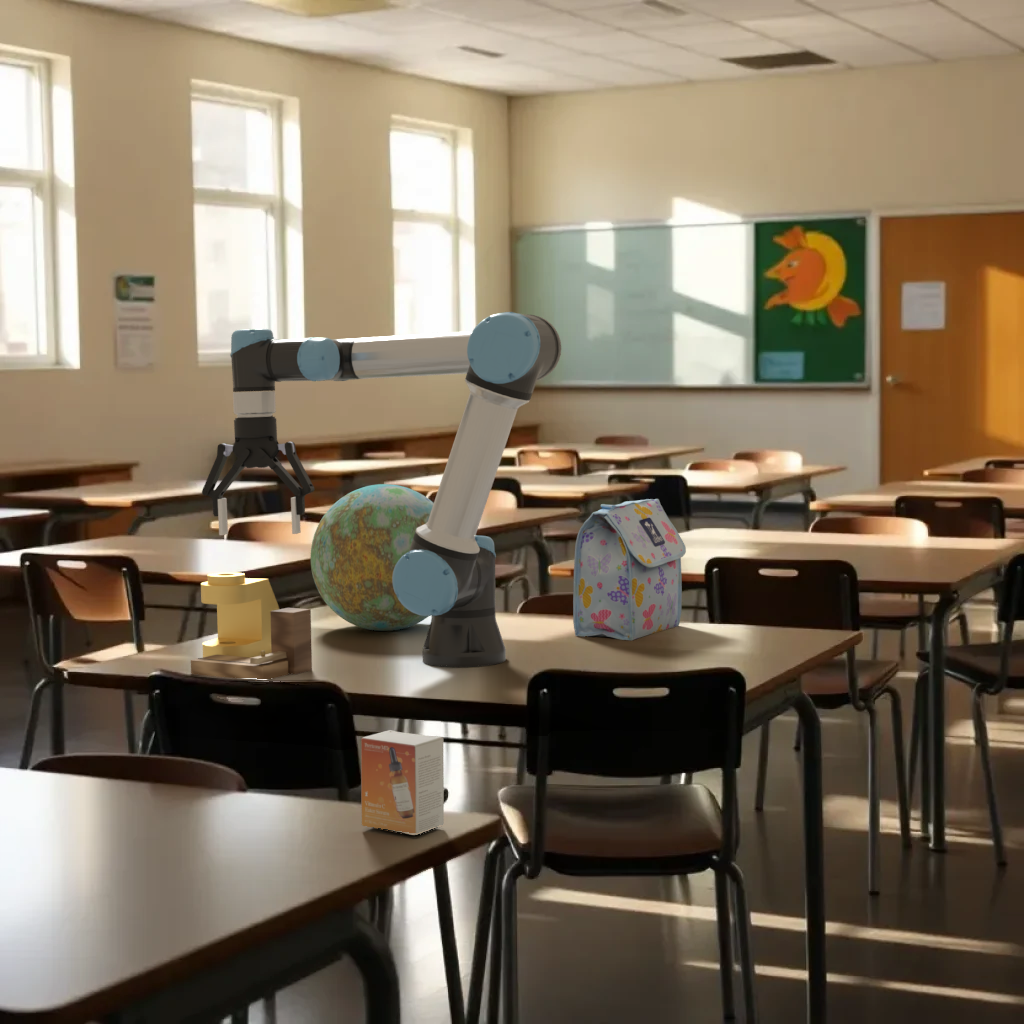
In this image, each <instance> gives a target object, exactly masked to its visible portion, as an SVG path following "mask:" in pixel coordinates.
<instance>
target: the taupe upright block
mask: <svg viewBox="0 0 1024 1024" xmlns="http://www.w3.org/2000/svg"><path fill="white" fill-rule="evenodd" d="M311 615H312V613H311V608H298V607H297V608H296V607H285V608H281V609H280V608H279V610H274V611H271V653H269V654H265V651H261V656H256V657H252V658H250V664H261V663H266V662H270V661H274V660H284V661H288V675H294V676H295V675H298V674H302V673H303V674H304V673H306V672H309V671H310V672H311V671H312V670H313V660H312V659H313V657H312V654H313V653H312V616H311Z"/></svg>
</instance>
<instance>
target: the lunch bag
mask: <svg viewBox="0 0 1024 1024" xmlns="http://www.w3.org/2000/svg"><path fill="white" fill-rule="evenodd" d="M600 508H601V509H599V510H597V511H593V512H592V513H591V514H590V516H589V517H588V518H587V519H586V520H585V521H584V522H583V524H582V525H581V527H580V528H579V530H578V533H577V537H576V540H575V546H574V563H573V565H574V566H573V595H572V596H573V599H572V600H573V601H572V604H573V608H572V610H573V611H572V612H573V613H572V614H573V619H572V620H573V623H572V624H573V629H574V635H575V637H585V636H587V637H608V638H613V639H615V640H616V639H617V640H621V641H622V640H623V641H625V640H626V641H634V640H638V639H640V638H643V637H646V636H648V635H651V634H655V633H658V632H662V631H665V630H668V628H669V629H673V628H676V627H679V625H680V622H681V618H682V617H681V616H682V593H683V591H682V584H683V583H682V578H683V577H682V560H681V559H682V558H683V557H684V556H685V554H686V552H687V548H686V544H685V542H684V540H683V539H682V538H681V535H680V534H679V532H678V530H677V529H676V527H675V526H674V524H673V523H672V521H671V520H670V518H669V516H668V515H667V513H666V512H665V510H664V507H663V506H662V505H661V502H660V499H659V498H655V499H653V498H650V499H649V498H646V499H640V500H629V501H628V500H627V501H623V502H621V503H619V504H605V503H602V504H600Z"/></svg>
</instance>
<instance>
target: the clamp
mask: <svg viewBox="0 0 1024 1024" xmlns="http://www.w3.org/2000/svg"><path fill="white" fill-rule="evenodd" d="M200 595H201V597H200V599H201V600H200V601H201V603H202V604H205V605H216V611H217V612H216V617H217V619H216V620H217V638H213V639H210V640H207V641H203V642H202V658H203V657H208V656H212V655H228V656H239V657H250V658H252V657H256V656H261V651H265V654H269V653H271V611H274V610H279V609H280V606H279V604H278V601H277V598H276V596H275V593H274V590H273V587H272V586H271V582H270V580H269V578H250V577H249V578H248V577H246V575H245V573H244V572H243V573H242V572H215V573H214V572H213V573H207V581H203V582H201V583H200Z"/></svg>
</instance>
